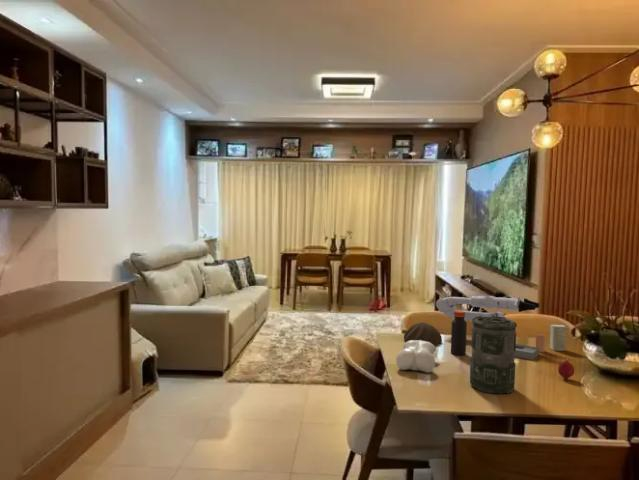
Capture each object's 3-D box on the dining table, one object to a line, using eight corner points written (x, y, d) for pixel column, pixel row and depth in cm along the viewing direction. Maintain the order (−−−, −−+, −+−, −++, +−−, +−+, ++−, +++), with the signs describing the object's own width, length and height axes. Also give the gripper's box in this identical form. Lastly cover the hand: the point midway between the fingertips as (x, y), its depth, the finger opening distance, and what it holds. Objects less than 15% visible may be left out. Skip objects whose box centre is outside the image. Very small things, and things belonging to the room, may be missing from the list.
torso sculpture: (433, 381, 193) (437, 354, 222) (434, 355, 192) (438, 331, 220) (394, 376, 198) (403, 350, 226) (395, 352, 196) (403, 329, 225)
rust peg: (535, 351, 235) (536, 335, 235) (537, 349, 238) (537, 333, 237) (543, 352, 233) (543, 336, 233) (544, 351, 236) (545, 334, 235)
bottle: (449, 354, 225) (451, 312, 224) (451, 351, 231) (453, 309, 231) (464, 356, 223) (466, 313, 222) (466, 352, 229) (467, 311, 228)
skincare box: (562, 348, 241) (563, 324, 240) (565, 351, 236) (566, 326, 236) (549, 348, 241) (550, 324, 241) (552, 350, 237) (553, 326, 236)
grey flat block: (496, 353, 229) (497, 346, 229) (504, 348, 239) (504, 342, 238) (532, 360, 219) (533, 353, 219) (538, 354, 229) (539, 347, 229)
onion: (567, 382, 189) (568, 362, 189) (554, 377, 194) (555, 358, 194) (577, 380, 192) (577, 360, 192) (563, 376, 197) (564, 356, 197)
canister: (509, 398, 170) (512, 319, 169) (464, 389, 179) (467, 314, 178) (517, 385, 184) (520, 312, 183) (475, 377, 192) (478, 308, 191)
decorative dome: (398, 337, 258) (399, 318, 258) (434, 337, 260) (435, 318, 260) (409, 346, 239) (409, 326, 238) (447, 346, 241) (448, 326, 241)
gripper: (504, 297, 240) (533, 300, 232) (512, 294, 251) (540, 296, 243) (504, 311, 240) (533, 314, 232) (512, 307, 252) (540, 310, 243)
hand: (537, 306), depth 237 cm, fingers open, 7 cm apart
